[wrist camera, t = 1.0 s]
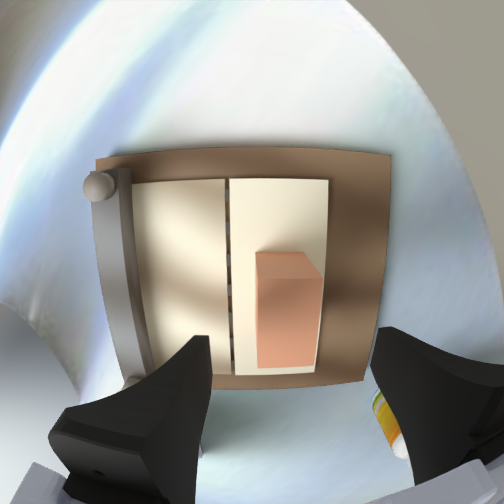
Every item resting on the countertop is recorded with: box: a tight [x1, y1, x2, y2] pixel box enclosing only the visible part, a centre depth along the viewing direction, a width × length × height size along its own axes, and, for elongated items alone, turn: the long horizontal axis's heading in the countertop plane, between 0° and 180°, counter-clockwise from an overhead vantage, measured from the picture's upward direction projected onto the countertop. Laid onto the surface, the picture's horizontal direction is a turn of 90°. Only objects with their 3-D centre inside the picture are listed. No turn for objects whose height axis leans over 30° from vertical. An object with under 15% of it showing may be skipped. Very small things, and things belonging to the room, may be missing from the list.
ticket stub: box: [229, 178, 328, 375], centre depth 16 cm, size 14×6×5 cm, turn 0°
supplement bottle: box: [371, 389, 413, 472], centre depth 19 cm, size 5×5×10 cm
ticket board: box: [83, 147, 391, 391], centre depth 18 cm, size 18×20×5 cm
